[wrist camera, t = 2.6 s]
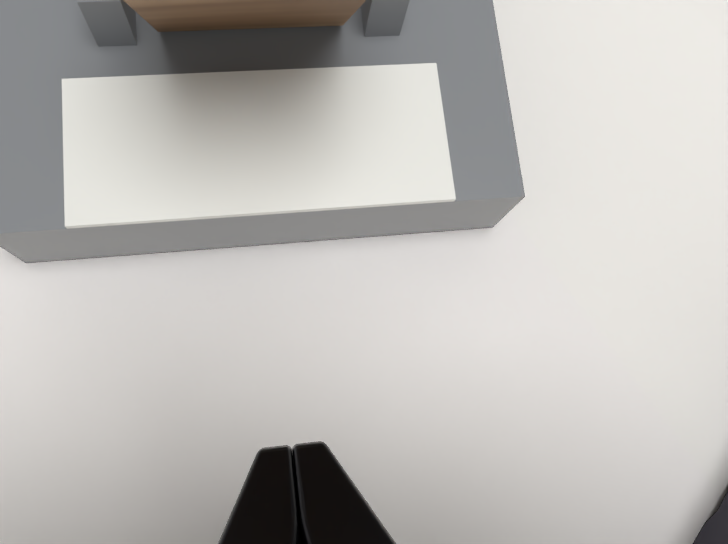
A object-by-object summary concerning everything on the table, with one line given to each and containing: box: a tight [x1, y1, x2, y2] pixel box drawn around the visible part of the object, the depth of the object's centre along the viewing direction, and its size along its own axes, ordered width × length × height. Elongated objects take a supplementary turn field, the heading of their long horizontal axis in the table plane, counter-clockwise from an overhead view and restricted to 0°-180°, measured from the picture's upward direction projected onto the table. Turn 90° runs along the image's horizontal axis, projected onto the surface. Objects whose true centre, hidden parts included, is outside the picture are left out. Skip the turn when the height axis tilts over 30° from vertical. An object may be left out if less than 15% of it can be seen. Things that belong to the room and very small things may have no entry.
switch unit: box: [0, 0, 525, 263], centre depth 20 cm, size 13×14×5 cm
